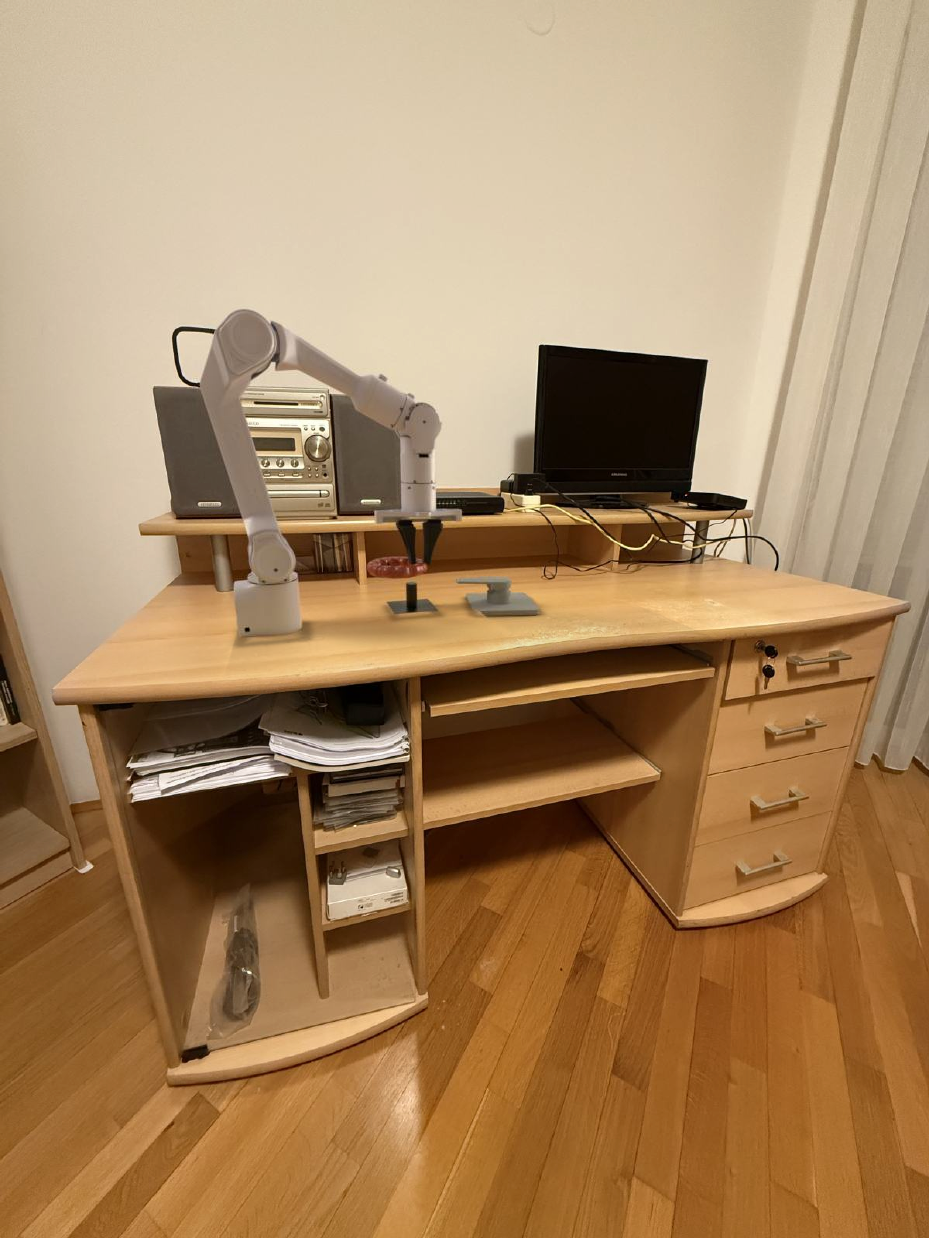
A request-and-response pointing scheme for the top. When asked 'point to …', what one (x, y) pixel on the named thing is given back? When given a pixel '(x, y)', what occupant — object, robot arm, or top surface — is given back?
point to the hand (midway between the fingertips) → (419, 564)
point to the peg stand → (411, 602)
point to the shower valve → (499, 598)
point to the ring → (396, 567)
